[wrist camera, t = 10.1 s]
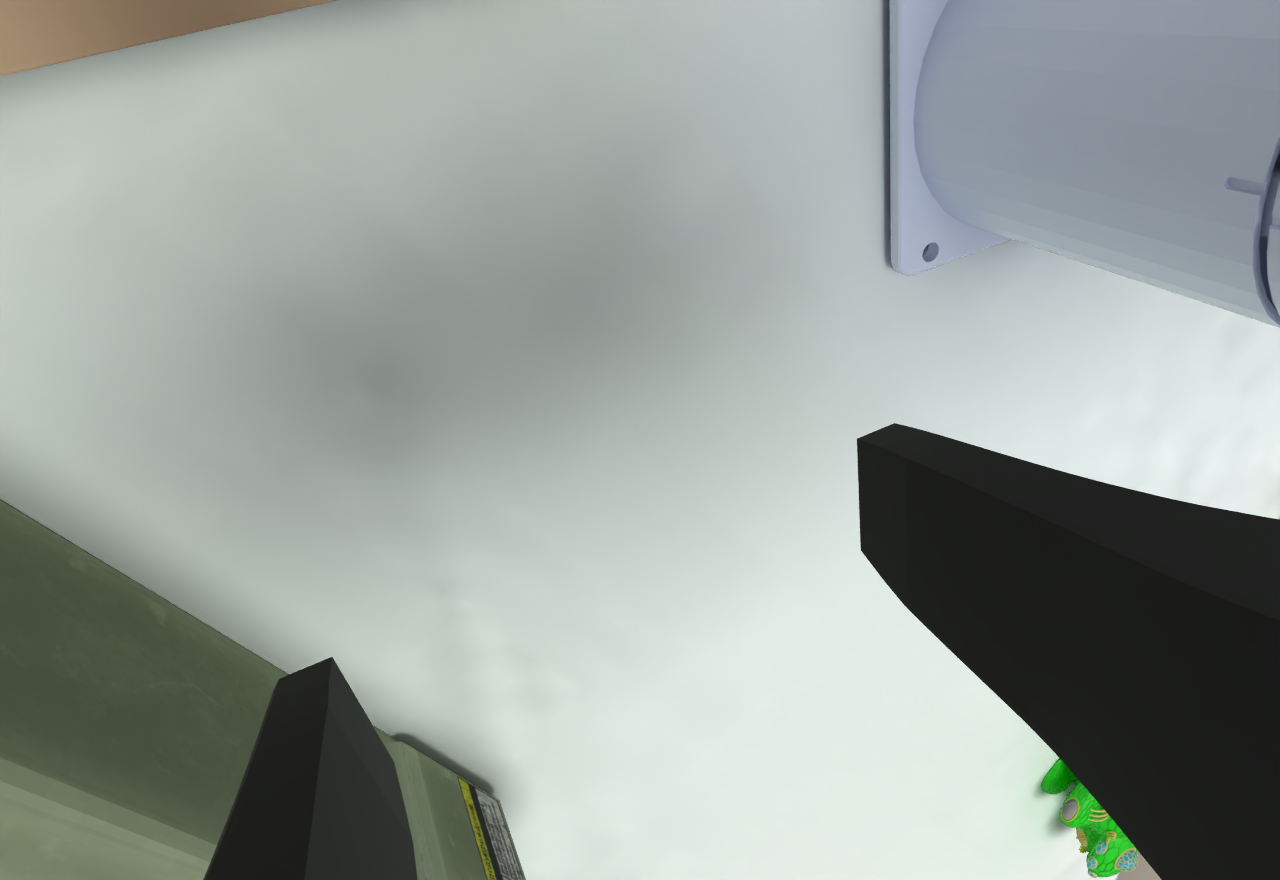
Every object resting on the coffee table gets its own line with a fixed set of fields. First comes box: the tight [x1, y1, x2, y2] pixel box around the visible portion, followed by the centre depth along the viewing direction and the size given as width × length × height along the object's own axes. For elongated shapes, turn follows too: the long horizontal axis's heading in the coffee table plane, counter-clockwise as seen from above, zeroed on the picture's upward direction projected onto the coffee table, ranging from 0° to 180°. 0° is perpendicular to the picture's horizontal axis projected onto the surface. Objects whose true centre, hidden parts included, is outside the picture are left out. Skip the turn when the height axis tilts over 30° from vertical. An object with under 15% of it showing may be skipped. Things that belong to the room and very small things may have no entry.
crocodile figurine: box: [1041, 759, 1139, 878], centre depth 38 cm, size 7×18×4 cm, turn 7°
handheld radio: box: [0, 500, 526, 880], centre depth 16 cm, size 7×3×25 cm
